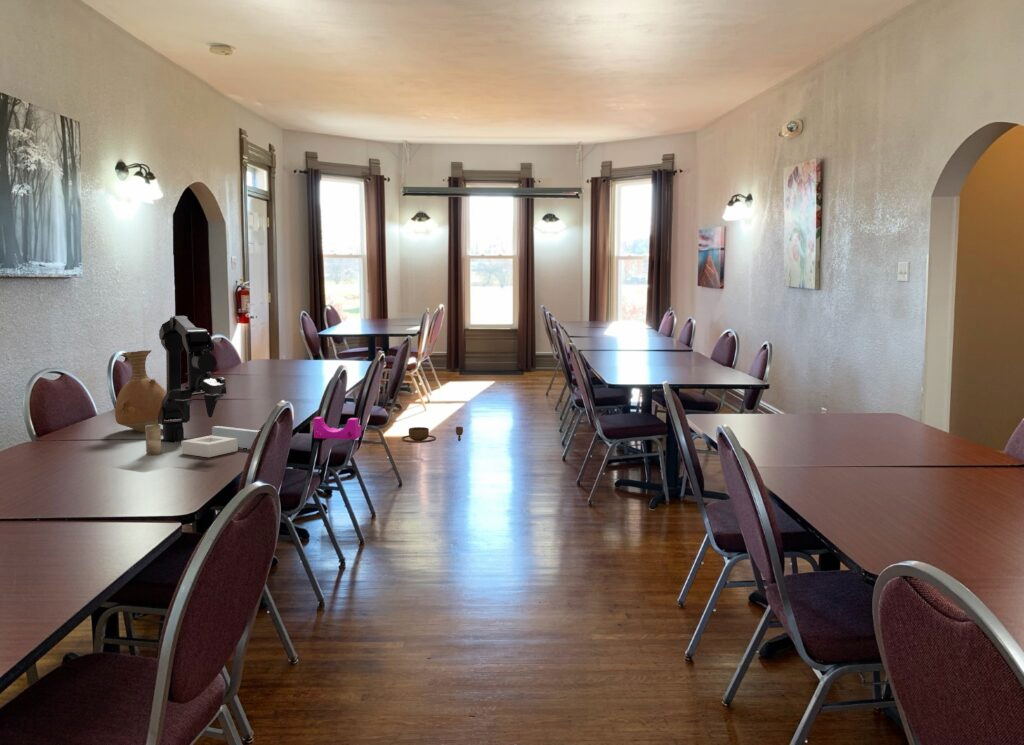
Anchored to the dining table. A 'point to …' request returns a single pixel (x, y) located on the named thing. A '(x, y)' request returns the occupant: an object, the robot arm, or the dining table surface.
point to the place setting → (425, 435)
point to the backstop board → (236, 435)
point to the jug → (139, 396)
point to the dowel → (153, 439)
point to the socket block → (209, 446)
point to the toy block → (348, 432)
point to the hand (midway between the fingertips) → (199, 419)
